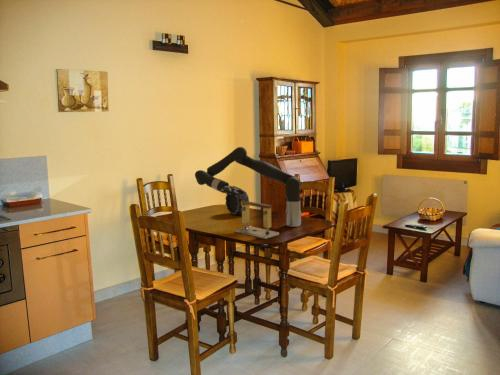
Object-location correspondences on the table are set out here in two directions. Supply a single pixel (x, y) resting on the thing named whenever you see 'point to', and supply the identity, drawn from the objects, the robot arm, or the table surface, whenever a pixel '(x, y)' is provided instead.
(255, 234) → the plate
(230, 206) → the dark treaded wheel
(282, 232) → the table surface
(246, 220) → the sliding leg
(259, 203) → the beam
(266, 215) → the fixed leg
